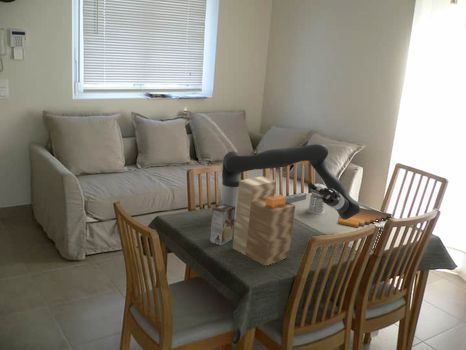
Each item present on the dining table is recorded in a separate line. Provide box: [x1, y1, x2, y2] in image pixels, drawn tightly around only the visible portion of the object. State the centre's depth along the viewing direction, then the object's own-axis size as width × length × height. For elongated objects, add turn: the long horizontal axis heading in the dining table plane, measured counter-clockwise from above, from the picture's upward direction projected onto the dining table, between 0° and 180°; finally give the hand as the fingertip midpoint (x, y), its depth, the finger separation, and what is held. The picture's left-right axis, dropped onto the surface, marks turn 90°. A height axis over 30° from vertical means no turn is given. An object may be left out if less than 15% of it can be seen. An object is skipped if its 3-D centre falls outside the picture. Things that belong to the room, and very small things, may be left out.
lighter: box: [373, 225, 385, 249], centre depth 239 cm, size 8×3×10 cm, turn 117°
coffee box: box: [209, 204, 235, 246], centre depth 228 cm, size 9×6×16 cm
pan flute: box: [338, 207, 393, 228], centre depth 271 cm, size 25×3×25 cm
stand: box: [232, 175, 296, 267], centre depth 218 cm, size 14×20×31 cm
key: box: [266, 192, 307, 209], centre depth 215 cm, size 22×4×4 cm, turn 133°
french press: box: [306, 177, 328, 215], centre depth 275 cm, size 10×12×25 cm
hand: (316, 187), depth 226 cm, fingers open, 8 cm apart
